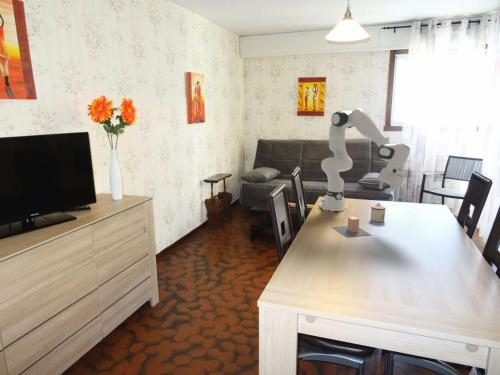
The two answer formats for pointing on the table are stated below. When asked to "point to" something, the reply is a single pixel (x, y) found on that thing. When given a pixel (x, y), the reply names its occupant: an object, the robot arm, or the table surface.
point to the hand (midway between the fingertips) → (384, 190)
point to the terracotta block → (353, 224)
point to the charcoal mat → (347, 233)
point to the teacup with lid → (377, 213)
